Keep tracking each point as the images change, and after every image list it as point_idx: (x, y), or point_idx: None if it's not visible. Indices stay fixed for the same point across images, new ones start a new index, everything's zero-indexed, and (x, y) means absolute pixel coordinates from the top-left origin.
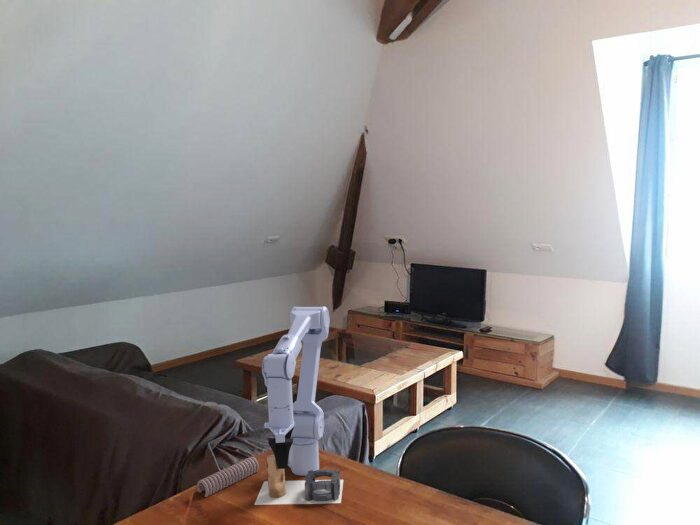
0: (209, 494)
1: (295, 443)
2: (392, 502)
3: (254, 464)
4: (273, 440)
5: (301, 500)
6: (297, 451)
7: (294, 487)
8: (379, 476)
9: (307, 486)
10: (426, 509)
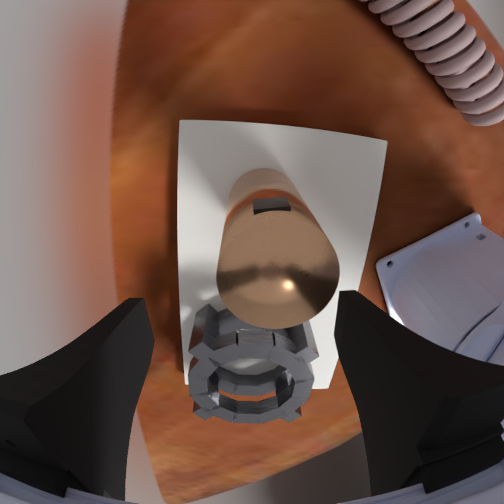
0: None
1: (471, 335)
2: (210, 445)
3: (478, 109)
4: (2, 438)
5: (202, 291)
6: (447, 320)
7: None
8: (337, 431)
9: (191, 344)
10: (184, 469)
